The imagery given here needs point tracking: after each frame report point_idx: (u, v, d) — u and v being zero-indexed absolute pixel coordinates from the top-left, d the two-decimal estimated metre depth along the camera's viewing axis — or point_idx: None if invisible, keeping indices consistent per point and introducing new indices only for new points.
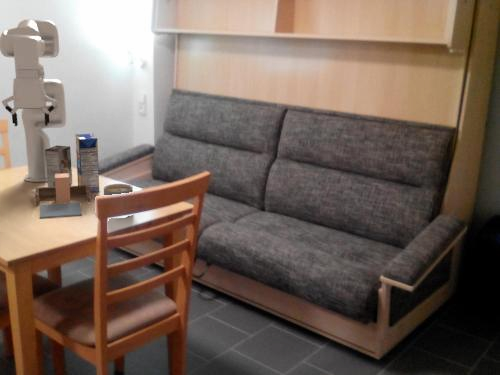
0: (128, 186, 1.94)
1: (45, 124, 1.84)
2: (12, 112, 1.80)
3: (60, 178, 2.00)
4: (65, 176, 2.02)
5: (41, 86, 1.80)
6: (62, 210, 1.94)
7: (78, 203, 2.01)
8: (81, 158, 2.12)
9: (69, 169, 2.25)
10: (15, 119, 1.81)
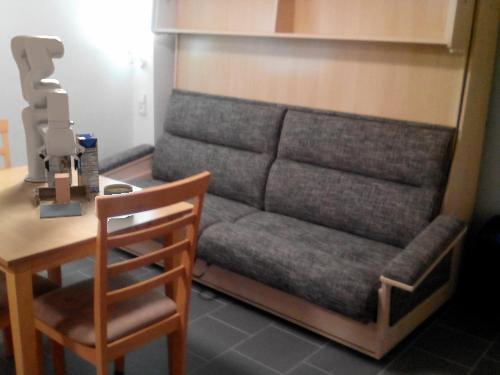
0: (128, 186, 1.94)
1: None
2: (45, 159, 1.98)
3: (60, 178, 2.00)
4: (65, 176, 2.02)
5: (71, 135, 1.98)
6: (62, 210, 1.94)
7: (78, 203, 2.01)
8: (81, 158, 2.12)
9: (69, 169, 2.25)
10: (48, 165, 1.98)
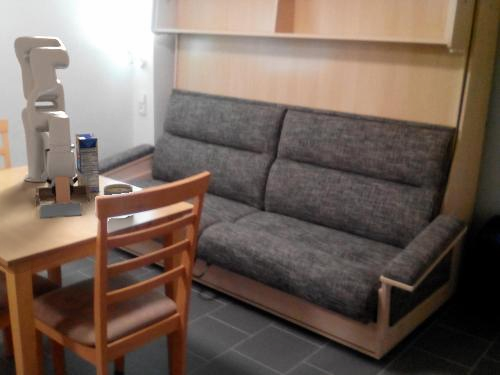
0: (128, 186, 1.94)
1: (70, 194, 2.04)
2: (52, 184, 2.01)
3: (60, 178, 2.00)
4: None
5: (72, 158, 2.00)
6: (62, 210, 1.94)
7: (78, 203, 2.01)
8: (81, 158, 2.12)
9: None
10: (55, 190, 2.02)
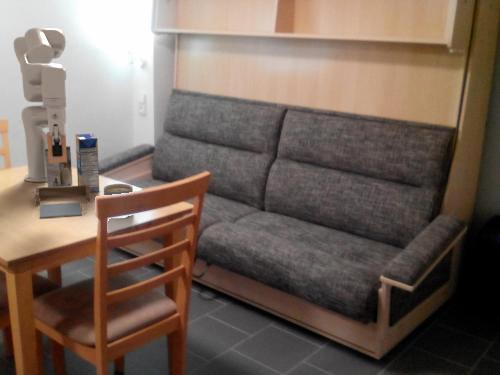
0: (128, 186, 1.94)
1: (53, 154, 1.86)
2: None
3: (47, 133, 1.86)
4: None
5: (48, 115, 1.80)
6: (62, 210, 1.94)
7: (78, 203, 2.01)
8: (81, 158, 2.12)
9: (69, 169, 2.25)
10: None
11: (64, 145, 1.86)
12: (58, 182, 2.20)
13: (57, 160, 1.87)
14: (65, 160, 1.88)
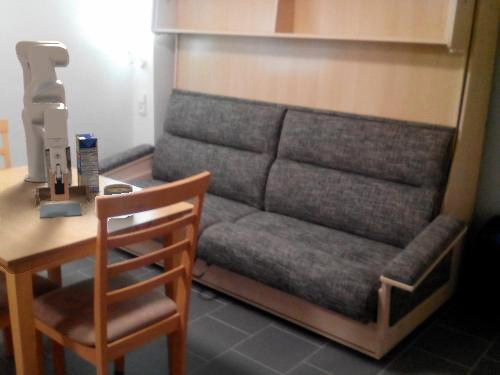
0: (128, 186, 1.94)
1: None
2: None
3: None
4: None
5: (51, 155, 1.84)
6: (62, 210, 1.94)
7: (78, 203, 2.01)
8: (81, 158, 2.12)
9: (69, 169, 2.25)
10: None
11: (66, 183, 1.90)
12: None
13: (59, 198, 1.90)
14: (67, 197, 1.91)
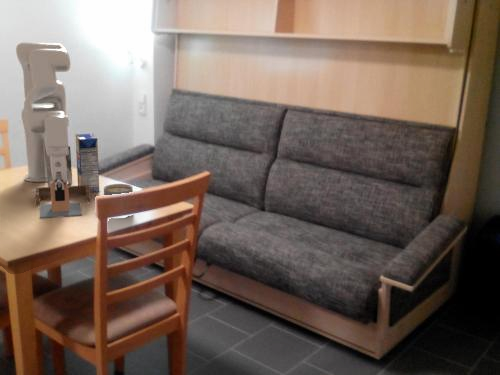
0: (128, 186, 1.94)
1: None
2: None
3: None
4: None
5: (51, 163, 1.85)
6: None
7: (78, 203, 2.01)
8: (81, 158, 2.12)
9: (69, 169, 2.25)
10: None
11: (67, 195, 1.91)
12: None
13: (60, 209, 1.92)
14: (68, 209, 1.93)
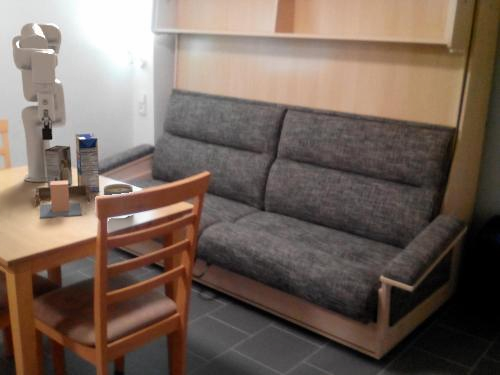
0: (128, 186, 1.94)
1: (43, 138, 1.86)
2: None
3: None
4: (54, 183, 1.90)
5: (38, 100, 1.82)
6: None
7: (78, 203, 2.01)
8: (81, 158, 2.12)
9: (69, 169, 2.25)
10: (42, 127, 1.93)
11: (67, 195, 1.91)
12: None
13: (60, 209, 1.92)
14: (68, 209, 1.93)
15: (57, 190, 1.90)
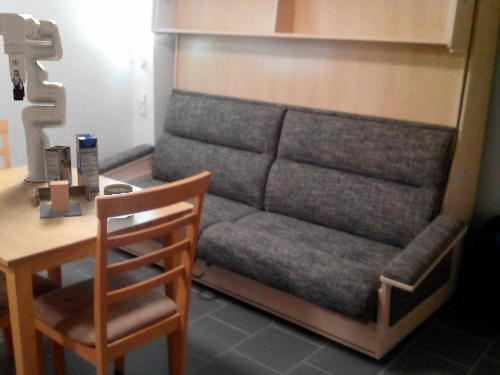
0: (128, 186, 1.94)
1: (14, 99, 1.90)
2: None
3: None
4: (54, 183, 1.90)
5: (9, 61, 1.86)
6: None
7: (78, 203, 2.01)
8: (81, 158, 2.12)
9: (69, 169, 2.25)
10: None
11: (67, 195, 1.91)
12: None
13: (60, 209, 1.92)
14: (68, 209, 1.93)
15: (57, 190, 1.90)
